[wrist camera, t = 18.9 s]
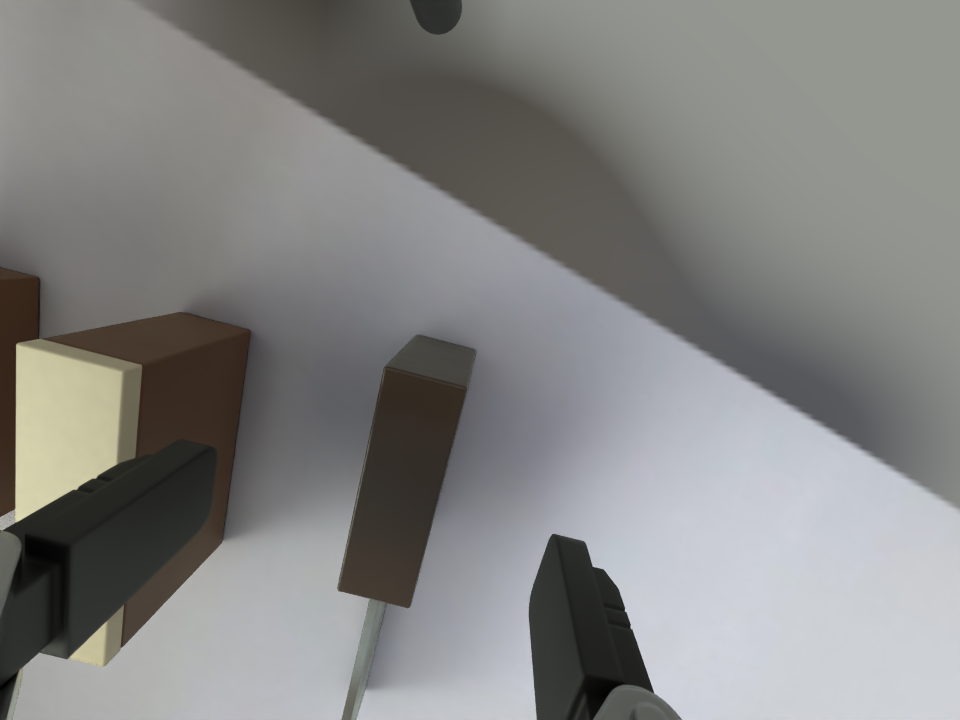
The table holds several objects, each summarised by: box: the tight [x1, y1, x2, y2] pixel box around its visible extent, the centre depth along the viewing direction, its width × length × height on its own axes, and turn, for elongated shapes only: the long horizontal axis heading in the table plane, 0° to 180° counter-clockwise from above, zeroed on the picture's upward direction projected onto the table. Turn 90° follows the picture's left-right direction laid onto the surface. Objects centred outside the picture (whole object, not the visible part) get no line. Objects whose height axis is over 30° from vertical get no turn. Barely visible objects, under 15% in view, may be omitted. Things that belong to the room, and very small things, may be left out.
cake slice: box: [15, 312, 250, 667], centre depth 14 cm, size 9×3×6 cm, turn 165°
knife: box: [337, 335, 476, 720], centre depth 16 cm, size 16×2×4 cm, turn 166°
